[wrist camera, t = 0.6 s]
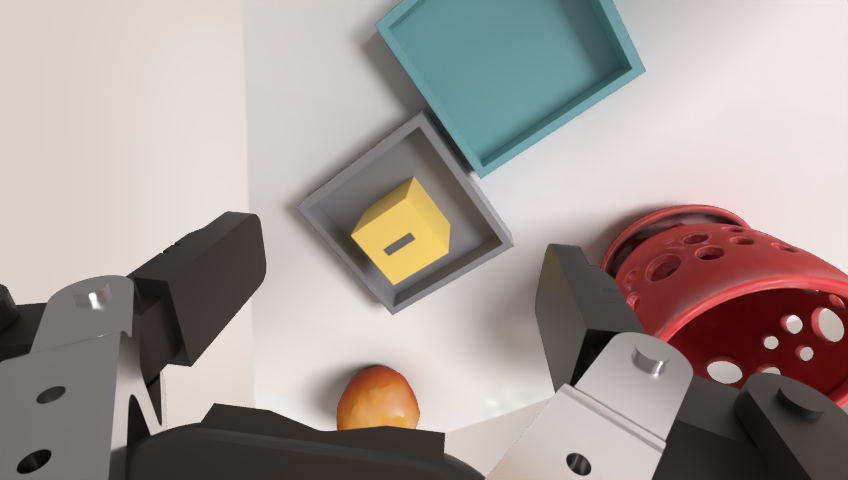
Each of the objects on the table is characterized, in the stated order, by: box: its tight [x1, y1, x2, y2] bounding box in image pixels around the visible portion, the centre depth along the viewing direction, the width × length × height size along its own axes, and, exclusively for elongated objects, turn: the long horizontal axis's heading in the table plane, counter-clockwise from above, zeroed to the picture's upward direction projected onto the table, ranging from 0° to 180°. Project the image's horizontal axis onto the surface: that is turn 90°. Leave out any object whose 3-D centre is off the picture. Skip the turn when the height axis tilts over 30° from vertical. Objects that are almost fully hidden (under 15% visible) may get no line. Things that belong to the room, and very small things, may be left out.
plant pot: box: [601, 205, 848, 408], centre depth 28 cm, size 13×13×12 cm
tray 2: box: [297, 109, 514, 315], centre depth 32 cm, size 12×12×2 cm
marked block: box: [351, 176, 450, 285], centre depth 30 cm, size 5×5×5 cm
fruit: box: [337, 366, 420, 430], centre depth 40 cm, size 8×8×8 cm
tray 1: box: [375, 0, 646, 179], centre depth 26 cm, size 12×12×2 cm
